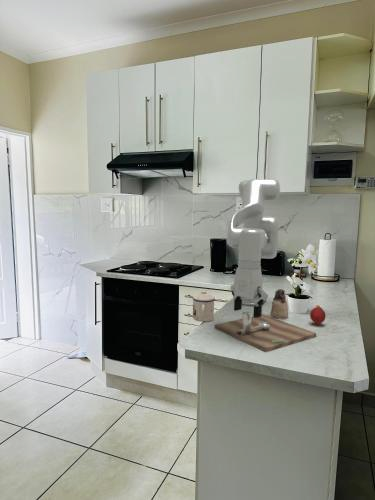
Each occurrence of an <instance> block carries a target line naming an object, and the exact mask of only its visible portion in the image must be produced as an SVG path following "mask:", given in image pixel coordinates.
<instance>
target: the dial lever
mask: <svg viewBox="0 0 375 500" xmlns="http://www.w3.org/2000/svg"><path fill="white" fill-rule="evenodd" d="M252 314H253V313H252V312H251V311H243V312H242V319H243V324H242V330H239V331H237V332H236V334H238V335H239V334H245V333H246V334H249V333H251V332H253V331H257V330H261V329H265V330H267V329H270V323H268V322H259V325H258V326H254V327H251V317H253V315H252Z"/></svg>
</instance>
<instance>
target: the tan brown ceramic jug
mask: <svg viewBox="0 0 375 500" xmlns="http://www.w3.org/2000/svg"><path fill="white" fill-rule="evenodd" d="M285 293H286V290H285V289H283V288H279V289H277V290H276V291H275V292H274V297H273V298H272V300H273V301H272V304H271V310H270V317H272V318H274V319H277V320H285V319H288V318H289V308H288V302H287V300H286V294H285Z"/></svg>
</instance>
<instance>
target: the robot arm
mask: <svg viewBox="0 0 375 500" xmlns="http://www.w3.org/2000/svg"><path fill="white" fill-rule="evenodd" d="M238 193H239V196H240V199H241V202H242V203H241V208H239V209H238V210H236V212H234V214H233V215H232V216H231V217H230V219H229V222H228V229H227V236H226V238H227V239H226V241H227V245H228V246H229V247H231V248H233V249H238V260H237V264H238V265H237V266H238V267H236V269H235V270H236V271H235V275H234V281H233V284H232V285H230V290H231V295H232V299H233V302H234V303H233V310H234V311H235V312H238V311H241V310H242V307H243V305H245V306H253V313H252V314H253V315H252V317H254V318H257V317H261V315H262V311H263V307H262V306H264V305H265V303H266V302H267V299H268V298H269V294H268V293H267V292H266V291H264V289H263V275H262V266H261V264H262V263H261V260H262V259H268V260H269V259H270V260H271V259H274V258H276V257H277V254H278V244H279V221H278V220H279V219H278V218H277V217H276V216H271V215H263V213H264V209H265V201H277V200H278V199H280V198H279V197H280V194H281V185H280V182H279V180H278V179H275V178H274V179H273V178H267V179H266V178H253V179H246V180H242V181H241V182H239V184H238ZM242 224H243V227H238V226H240V225H242Z"/></svg>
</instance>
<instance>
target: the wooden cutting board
mask: <svg viewBox="0 0 375 500" xmlns="http://www.w3.org/2000/svg"><path fill="white" fill-rule="evenodd" d="M259 322H268V323H270V329H267V330H265V329H261V330H257V331H253V332H251V333H249V334H246V333H245V334H239V335H238V334H236V332H237V331H239V330H242V324H243V318H239V319H235V320H232V321H226V322H221V323H217V324H214V329H216V330H218V331H221V332H223V333H225V334H227V335H229V336H231V337H233V338H234V339H237V340H239V341H242V342H244V343H245V344H248V345H250V346H252V347H254V348H257V349H259V350H261V351H262V352H265V353H267V352H271V351H274V350H278V349H280V348H284V347H287V346H290V345H293V344H297V343H299V342H303V341H306V340H307V341H308V340H310V339H313V338H316V337H317V333H316V332H313V331H311V330H308V329H305V328H303V327H299V326H297V325H294V324H292V323H288V322H285V321H284V320H283V321H282V320H281V319H277V318H273V317H271V316H268V315H267V314H266V315H265V314H263V313H261V317H257V318H254V317H253V316H251V327H254V326H258V325H259Z"/></svg>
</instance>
